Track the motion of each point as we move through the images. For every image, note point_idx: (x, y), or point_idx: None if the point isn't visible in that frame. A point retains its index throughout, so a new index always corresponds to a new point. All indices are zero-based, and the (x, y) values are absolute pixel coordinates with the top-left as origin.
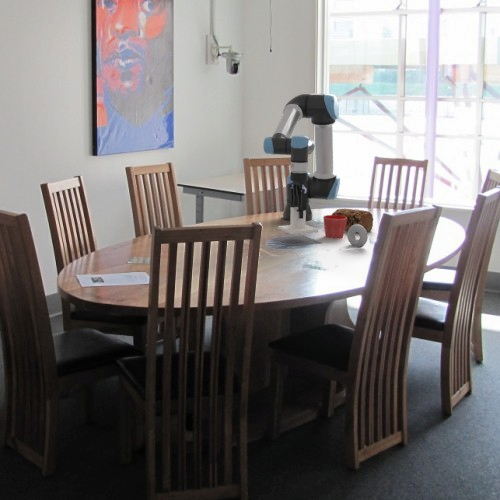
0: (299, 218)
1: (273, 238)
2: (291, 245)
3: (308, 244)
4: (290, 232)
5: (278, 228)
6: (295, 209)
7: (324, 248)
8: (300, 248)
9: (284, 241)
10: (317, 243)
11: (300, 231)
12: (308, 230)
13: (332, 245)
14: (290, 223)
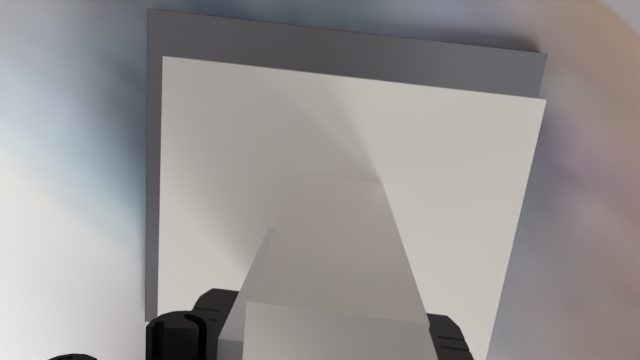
0: (232, 290)
1: (518, 51)
2: (158, 29)
3: (146, 194)
4: (192, 59)
5: (523, 96)
6: (247, 329)
7: (18, 244)
8: (79, 69)
9: (344, 71)
10: (150, 277)
11: (161, 178)
12: (160, 276)
13: (96, 353)
14: (383, 197)
